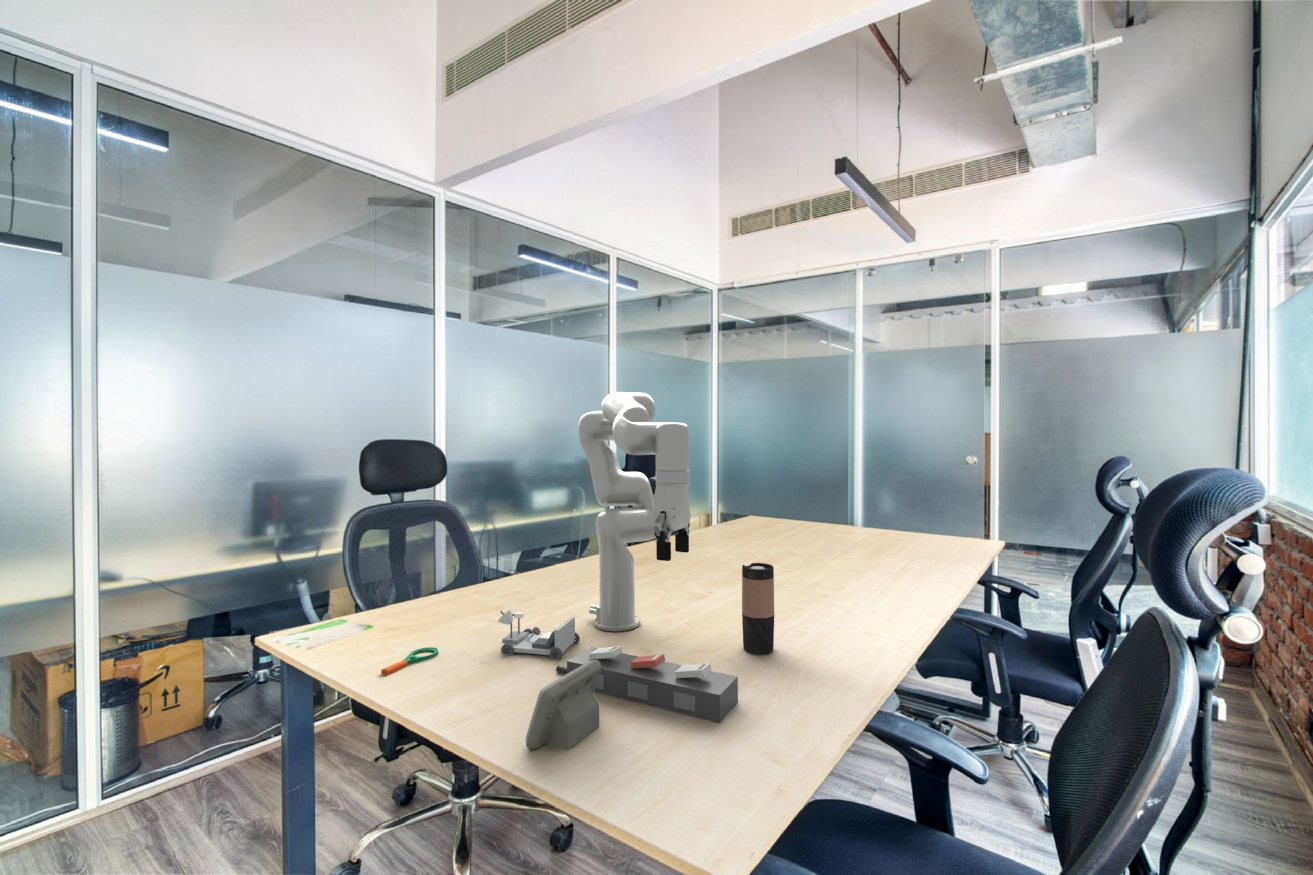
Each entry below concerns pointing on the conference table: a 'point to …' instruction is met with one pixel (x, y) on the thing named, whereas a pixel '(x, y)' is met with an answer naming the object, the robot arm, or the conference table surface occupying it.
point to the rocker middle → (647, 661)
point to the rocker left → (605, 652)
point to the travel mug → (758, 608)
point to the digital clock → (566, 709)
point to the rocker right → (693, 670)
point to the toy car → (538, 638)
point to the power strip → (663, 686)
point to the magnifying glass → (410, 660)
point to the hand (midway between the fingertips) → (673, 555)
